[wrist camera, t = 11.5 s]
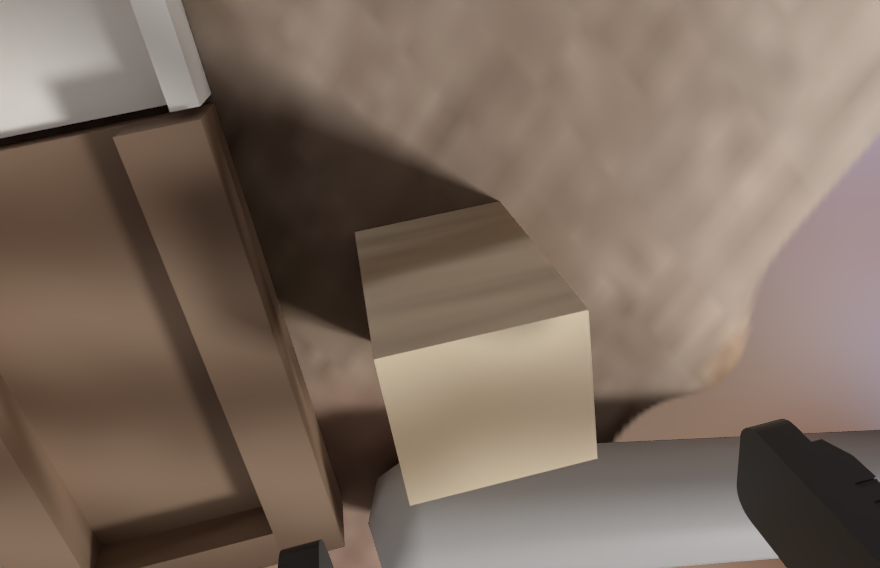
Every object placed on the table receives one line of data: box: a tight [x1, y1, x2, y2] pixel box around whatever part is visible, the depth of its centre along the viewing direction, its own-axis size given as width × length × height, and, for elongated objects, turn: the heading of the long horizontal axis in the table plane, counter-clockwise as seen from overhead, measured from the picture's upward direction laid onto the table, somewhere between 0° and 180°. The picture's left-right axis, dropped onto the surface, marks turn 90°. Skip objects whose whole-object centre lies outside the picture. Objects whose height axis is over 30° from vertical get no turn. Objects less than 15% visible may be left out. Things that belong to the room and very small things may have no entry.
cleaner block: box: [355, 201, 598, 506], centre depth 19 cm, size 4×5×8 cm
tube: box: [368, 430, 880, 568], centre depth 26 cm, size 5×5×25 cm
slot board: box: [0, 103, 345, 568], centre depth 21 cm, size 16×11×2 cm
